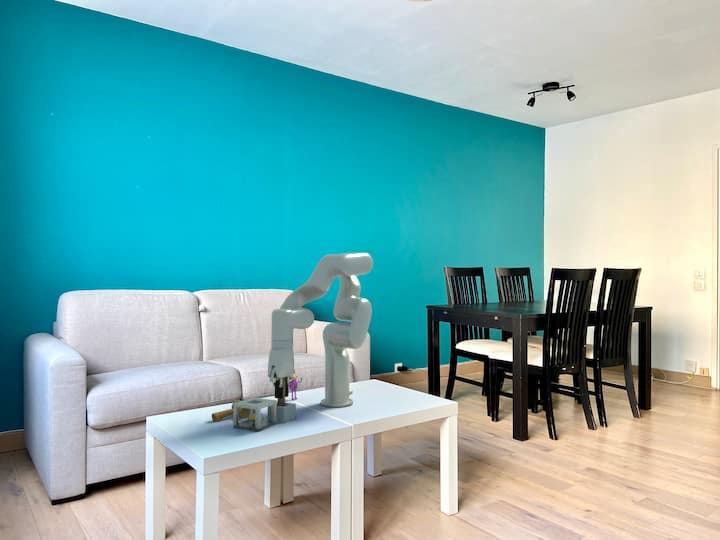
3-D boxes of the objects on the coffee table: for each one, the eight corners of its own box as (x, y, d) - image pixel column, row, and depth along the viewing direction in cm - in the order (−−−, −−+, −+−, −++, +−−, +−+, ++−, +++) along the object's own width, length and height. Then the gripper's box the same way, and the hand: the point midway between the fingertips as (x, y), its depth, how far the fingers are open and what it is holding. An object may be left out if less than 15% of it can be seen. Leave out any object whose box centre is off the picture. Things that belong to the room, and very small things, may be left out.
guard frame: (252, 420, 183) (252, 397, 183) (276, 424, 179) (276, 400, 179) (233, 427, 174) (233, 403, 175) (258, 431, 170) (258, 406, 170)
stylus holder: (279, 415, 190) (279, 401, 190) (295, 418, 187) (295, 403, 187) (267, 420, 184) (267, 405, 184) (284, 422, 181) (284, 408, 181)
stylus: (280, 412, 187) (280, 369, 187) (286, 412, 186) (286, 369, 186) (275, 413, 185) (276, 370, 185) (282, 414, 183) (282, 370, 184)
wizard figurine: (288, 402, 209) (288, 372, 210) (281, 401, 211) (281, 371, 211) (304, 397, 219) (304, 368, 219) (298, 396, 221) (298, 367, 221)
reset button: (254, 419, 179) (254, 413, 179) (263, 420, 178) (263, 414, 178) (246, 422, 176) (246, 416, 176) (256, 423, 174) (256, 417, 174)
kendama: (221, 428, 179) (266, 411, 191) (217, 409, 179) (262, 394, 192) (210, 427, 185) (255, 411, 197) (206, 409, 185) (251, 394, 197)
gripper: (286, 341, 194) (285, 392, 194) (259, 346, 180) (258, 400, 180) (303, 342, 191) (303, 394, 191) (277, 347, 177) (276, 403, 176)
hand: (281, 397), depth 185 cm, fingers closed on stylus, 2 cm apart
